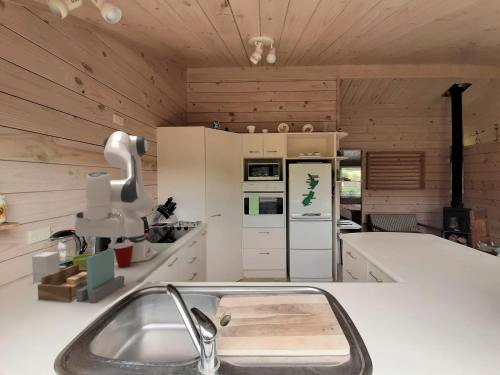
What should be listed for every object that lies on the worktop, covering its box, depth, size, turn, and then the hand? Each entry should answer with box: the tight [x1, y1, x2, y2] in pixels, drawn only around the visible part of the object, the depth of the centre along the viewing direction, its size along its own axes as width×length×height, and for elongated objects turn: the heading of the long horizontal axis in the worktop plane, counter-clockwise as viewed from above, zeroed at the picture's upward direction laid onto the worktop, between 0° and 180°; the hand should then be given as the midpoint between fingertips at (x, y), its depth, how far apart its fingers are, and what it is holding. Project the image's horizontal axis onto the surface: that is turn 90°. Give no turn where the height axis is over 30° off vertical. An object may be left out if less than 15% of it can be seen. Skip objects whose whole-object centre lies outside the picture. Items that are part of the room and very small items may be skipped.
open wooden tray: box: [37, 264, 87, 303], centre depth 105 cm, size 18×14×10 cm
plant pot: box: [70, 253, 93, 269], centre depth 128 cm, size 9×9×9 cm
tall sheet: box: [86, 248, 116, 300], centre depth 103 cm, size 12×2×16 cm, turn 169°
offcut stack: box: [64, 272, 87, 297], centre depth 105 cm, size 12×5×6 cm, turn 169°
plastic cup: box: [113, 242, 134, 269], centre depth 139 cm, size 11×11×12 cm
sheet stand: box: [75, 275, 125, 304], centre depth 103 cm, size 16×8×6 cm, turn 169°
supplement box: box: [31, 251, 61, 285], centre depth 120 cm, size 7×7×13 cm
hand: (101, 247), depth 102 cm, fingers open, 8 cm apart
